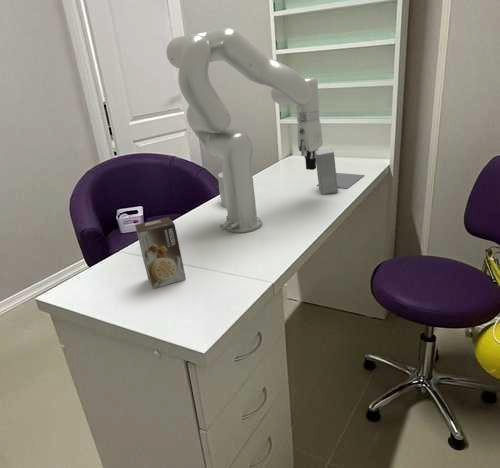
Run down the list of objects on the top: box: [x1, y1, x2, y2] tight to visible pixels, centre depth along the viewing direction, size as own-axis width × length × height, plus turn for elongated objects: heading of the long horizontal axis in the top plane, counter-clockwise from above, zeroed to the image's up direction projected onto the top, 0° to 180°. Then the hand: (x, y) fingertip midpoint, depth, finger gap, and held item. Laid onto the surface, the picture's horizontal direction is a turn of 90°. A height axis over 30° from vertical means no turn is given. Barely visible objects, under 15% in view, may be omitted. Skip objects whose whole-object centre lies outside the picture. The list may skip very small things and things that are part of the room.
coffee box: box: [134, 216, 187, 289], centre depth 109 cm, size 9×6×16 cm
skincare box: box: [315, 147, 339, 195], centre depth 162 cm, size 8×7×16 cm
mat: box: [316, 172, 365, 190], centre depth 175 cm, size 18×13×1 cm
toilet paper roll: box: [217, 171, 227, 208], centre depth 161 cm, size 12×12×12 cm
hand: (311, 168), depth 151 cm, fingers closed
